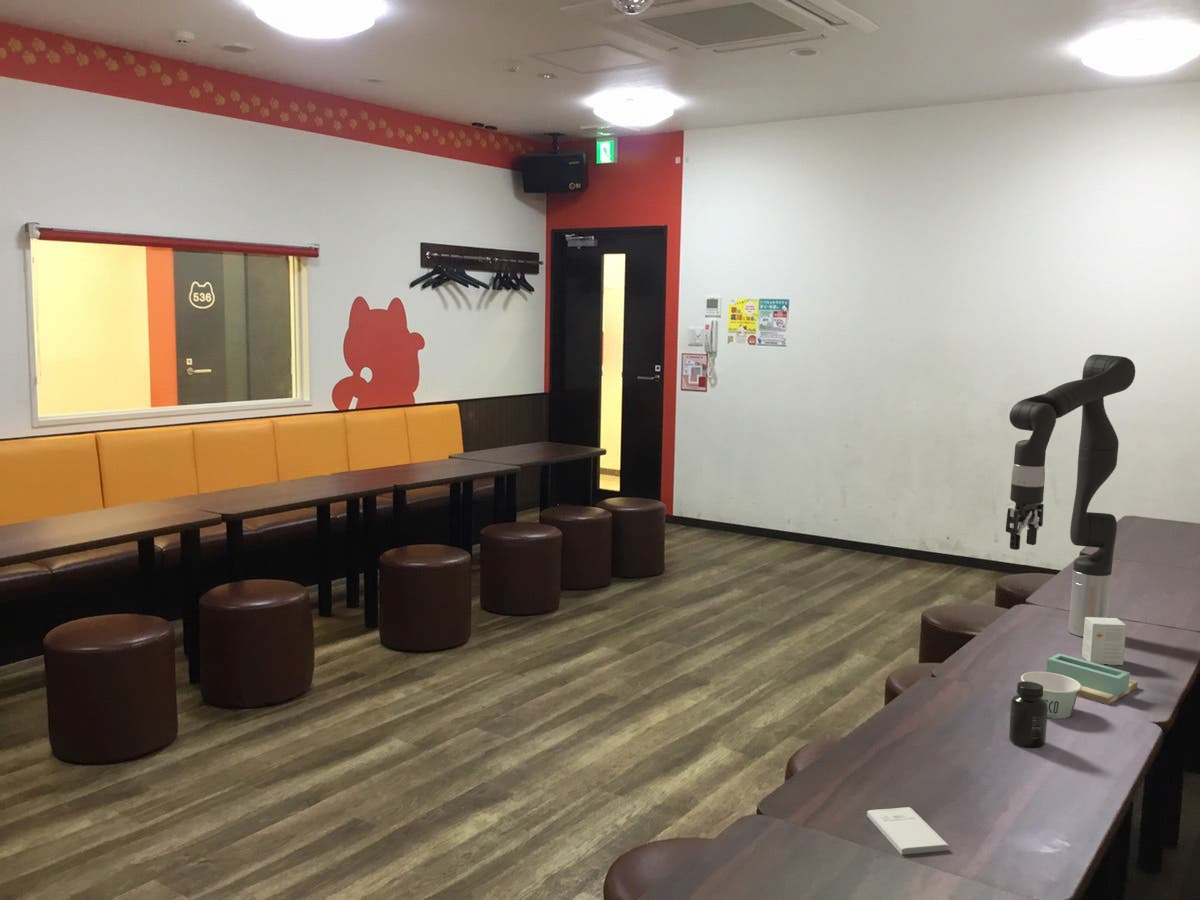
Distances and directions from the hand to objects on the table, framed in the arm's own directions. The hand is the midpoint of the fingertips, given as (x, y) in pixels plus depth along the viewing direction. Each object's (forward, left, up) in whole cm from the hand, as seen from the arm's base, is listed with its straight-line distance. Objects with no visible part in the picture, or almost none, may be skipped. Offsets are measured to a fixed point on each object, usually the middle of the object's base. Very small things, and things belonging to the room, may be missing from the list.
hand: (1022, 546), depth 245 cm
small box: (-13, +16, -28) cm, 35 cm away
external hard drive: (+98, +31, -29) cm, 106 cm away
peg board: (+7, +21, -28) cm, 36 cm away
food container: (+28, +22, -28) cm, 45 cm away
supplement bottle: (+48, +27, -28) cm, 62 cm away
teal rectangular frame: (+9, +22, -26) cm, 35 cm away
